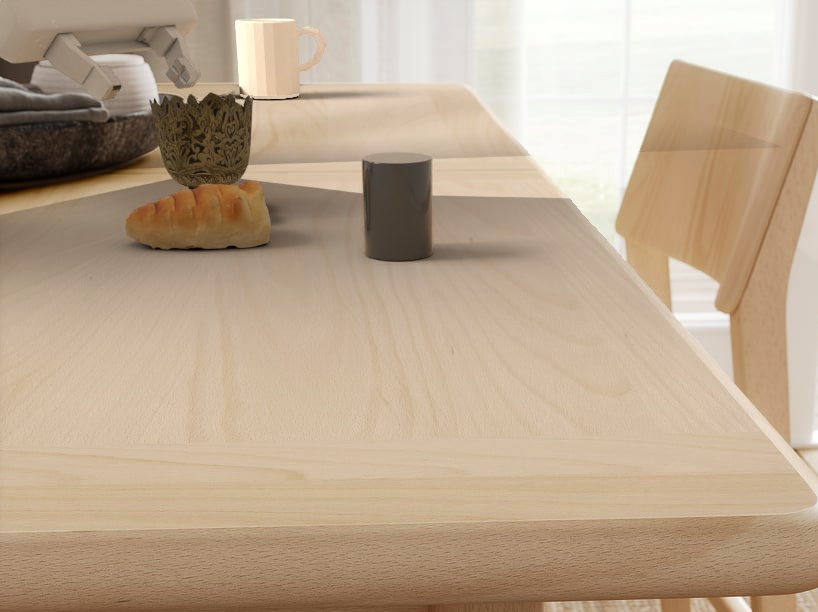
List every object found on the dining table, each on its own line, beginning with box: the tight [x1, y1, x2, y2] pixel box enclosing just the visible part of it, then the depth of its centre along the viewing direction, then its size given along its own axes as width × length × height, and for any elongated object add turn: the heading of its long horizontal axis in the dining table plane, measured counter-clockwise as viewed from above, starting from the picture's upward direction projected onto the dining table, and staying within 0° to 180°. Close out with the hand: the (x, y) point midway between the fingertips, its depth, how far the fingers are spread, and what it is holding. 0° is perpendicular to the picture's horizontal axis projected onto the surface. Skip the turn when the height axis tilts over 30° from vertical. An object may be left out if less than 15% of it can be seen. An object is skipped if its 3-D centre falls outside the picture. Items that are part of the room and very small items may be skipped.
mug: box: [234, 18, 328, 96], centre depth 158 cm, size 8×12×10 cm
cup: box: [149, 91, 254, 189], centre depth 88 cm, size 8×7×8 cm
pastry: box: [125, 180, 272, 251], centre depth 77 cm, size 9×7×4 cm
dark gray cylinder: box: [361, 151, 434, 262], centre depth 74 cm, size 4×4×6 cm
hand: (153, 88), depth 87 cm, fingers open, 8 cm apart
